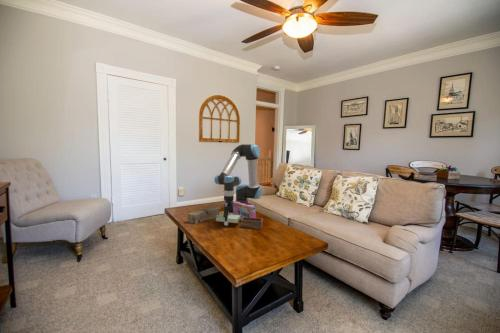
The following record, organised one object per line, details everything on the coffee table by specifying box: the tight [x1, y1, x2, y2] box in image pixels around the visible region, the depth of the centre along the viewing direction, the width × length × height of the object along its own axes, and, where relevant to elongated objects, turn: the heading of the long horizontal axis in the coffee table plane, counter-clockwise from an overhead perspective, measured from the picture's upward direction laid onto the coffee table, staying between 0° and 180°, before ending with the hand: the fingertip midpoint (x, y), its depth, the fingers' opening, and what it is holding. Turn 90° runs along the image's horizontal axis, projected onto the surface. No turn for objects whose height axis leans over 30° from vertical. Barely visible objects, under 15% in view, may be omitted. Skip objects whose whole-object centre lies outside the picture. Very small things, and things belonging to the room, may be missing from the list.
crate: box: [240, 217, 264, 230], centre depth 174 cm, size 7×16×6 cm, turn 77°
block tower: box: [187, 205, 221, 225], centre depth 191 cm, size 8×8×29 cm
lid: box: [215, 213, 241, 224], centre depth 178 cm, size 10×17×4 cm, turn 77°
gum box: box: [232, 200, 257, 221], centre depth 193 cm, size 24×8×14 cm, turn 47°
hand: (228, 222), depth 179 cm, fingers open, 10 cm apart
